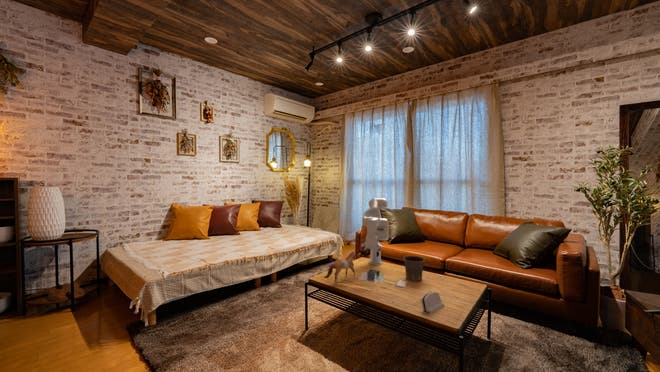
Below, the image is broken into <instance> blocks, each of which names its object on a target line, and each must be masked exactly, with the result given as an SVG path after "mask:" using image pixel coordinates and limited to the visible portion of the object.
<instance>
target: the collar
mask: <svg viewBox="0 0 660 372" xmlns="http://www.w3.org/2000/svg"><path fill="white" fill-rule="evenodd" d="M371 271H373V272H371ZM366 272H367V278H371V279H375V278H376V277H377V270H376V269H372V270H371V268H369V269H368V270H367V271H366Z"/></svg>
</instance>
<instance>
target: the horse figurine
mask: <svg viewBox="0 0 660 372" xmlns="http://www.w3.org/2000/svg"><path fill="white" fill-rule="evenodd" d="M356 254H357V251H351V252H350V253H349V255H348V256H347V257H346V258H345V259H343V260H342V259H338V260H336V261H335V262H334V263H333V264H331V265H330V266H329V268H328V269H327V274H326V275H325V276H323V278H324V279H329V278H330V276H331V275H332V274H333V271H334V270H335V272H334V281H333V282H334V284H333V285H334V286H336V285H337V283H338V281H339V278H338V276H339V274H340V272H341V271H342V269H343V270H345V276H344V277H345V278H348V277H347V275H348V269H350V270H351V271H352V273H353V278H356V271H355V268H354V265H355V264H354V261H355V260H356V256H357V255H356Z"/></svg>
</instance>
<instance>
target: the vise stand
mask: <svg viewBox="0 0 660 372" xmlns="http://www.w3.org/2000/svg"><path fill="white" fill-rule="evenodd" d="M370 269H371V268H370ZM371 270H373V269H371ZM367 272H368V271H364V272H363V273H362V274H361V275H360V276H359V277H358V279H357V280H361V281H366V282H372V283H376V284H377V283H378V284H382V281H383V280H384V279H385V277H386V274H380V273H381V271H380V270H377V277H376V278H375V279H371V278H367ZM371 272H373V271H371Z"/></svg>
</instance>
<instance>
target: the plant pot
mask: <svg viewBox="0 0 660 372" xmlns="http://www.w3.org/2000/svg"><path fill="white" fill-rule="evenodd" d="M403 261H404V262H403V263H404V267H405V278H406V279H407V280H409V281H411V282H420V281H422V280H423V271H424V265H425V258H424V257H421V256H416V255H407V256H403Z"/></svg>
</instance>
